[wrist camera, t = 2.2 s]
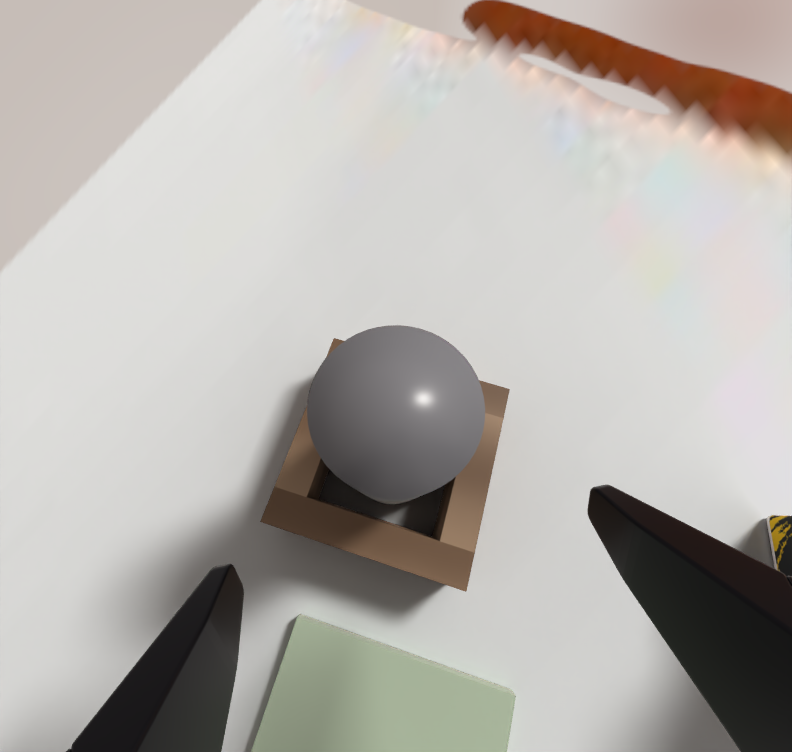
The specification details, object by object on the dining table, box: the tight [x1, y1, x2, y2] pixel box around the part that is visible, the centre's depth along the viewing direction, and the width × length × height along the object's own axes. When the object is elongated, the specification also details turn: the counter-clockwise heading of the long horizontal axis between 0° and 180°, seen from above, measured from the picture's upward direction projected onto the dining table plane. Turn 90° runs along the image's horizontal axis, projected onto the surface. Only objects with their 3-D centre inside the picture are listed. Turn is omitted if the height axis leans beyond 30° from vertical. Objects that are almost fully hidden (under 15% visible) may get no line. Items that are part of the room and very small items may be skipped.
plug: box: [307, 326, 485, 504], centre depth 15 cm, size 4×4×11 cm
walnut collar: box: [260, 338, 510, 591], centre depth 18 cm, size 9×9×3 cm
